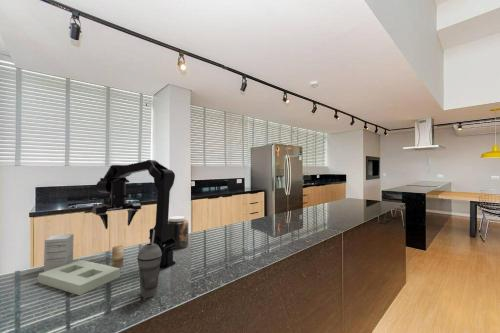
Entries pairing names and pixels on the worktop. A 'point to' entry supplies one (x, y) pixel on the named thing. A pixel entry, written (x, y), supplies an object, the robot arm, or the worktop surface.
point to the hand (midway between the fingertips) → (117, 227)
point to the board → (79, 276)
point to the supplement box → (58, 251)
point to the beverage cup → (149, 268)
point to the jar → (179, 231)
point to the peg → (117, 256)
